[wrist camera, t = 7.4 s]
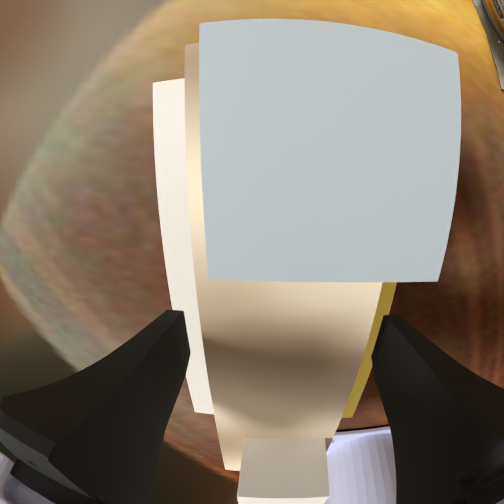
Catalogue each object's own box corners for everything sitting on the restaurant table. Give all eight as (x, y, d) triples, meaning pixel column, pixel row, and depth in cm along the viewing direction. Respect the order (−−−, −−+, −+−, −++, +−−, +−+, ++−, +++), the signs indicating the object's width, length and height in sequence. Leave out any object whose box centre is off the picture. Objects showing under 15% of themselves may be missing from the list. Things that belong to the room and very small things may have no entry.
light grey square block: (380, 221, 7) (437, 281, 4) (235, 218, 7) (208, 279, 4) (387, 79, 5) (457, 52, 2) (233, 69, 5) (200, 22, 3)
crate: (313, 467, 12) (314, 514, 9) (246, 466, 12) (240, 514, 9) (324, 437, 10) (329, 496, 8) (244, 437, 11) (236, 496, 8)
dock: (347, 393, 17) (352, 417, 15) (201, 389, 18) (194, 413, 16) (396, 95, 10) (417, 90, 8) (170, 89, 11) (152, 82, 9)
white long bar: (313, 418, 16) (317, 471, 12) (233, 416, 16) (225, 469, 12) (357, 79, 9) (400, 54, 5) (217, 75, 9) (185, 45, 5)
